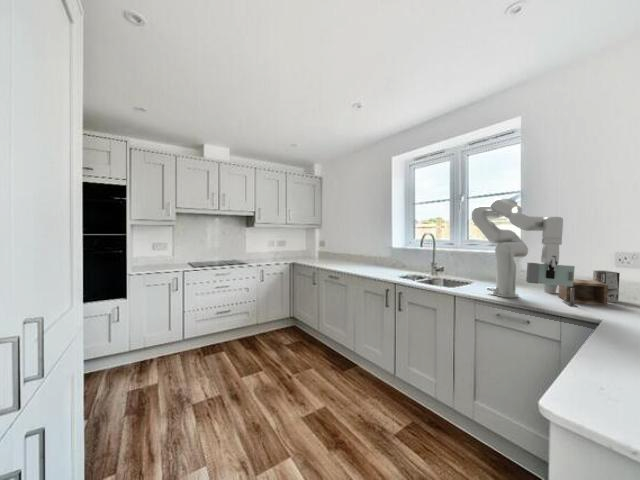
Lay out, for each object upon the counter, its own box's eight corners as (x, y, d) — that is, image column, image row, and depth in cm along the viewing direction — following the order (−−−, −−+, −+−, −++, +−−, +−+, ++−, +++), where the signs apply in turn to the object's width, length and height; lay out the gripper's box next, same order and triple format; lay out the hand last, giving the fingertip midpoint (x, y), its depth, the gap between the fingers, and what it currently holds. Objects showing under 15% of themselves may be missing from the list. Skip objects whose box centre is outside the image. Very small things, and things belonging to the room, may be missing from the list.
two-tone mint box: (528, 282, 137) (529, 263, 136) (526, 281, 141) (527, 262, 140) (573, 287, 129) (575, 266, 128) (570, 285, 133) (572, 265, 132)
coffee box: (619, 302, 144) (620, 272, 144) (604, 301, 146) (606, 272, 145) (604, 298, 153) (606, 270, 153) (591, 297, 154) (592, 270, 154)
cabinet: (569, 306, 136) (570, 284, 136) (555, 296, 156) (555, 278, 156) (617, 311, 128) (618, 288, 128) (596, 300, 148) (596, 280, 148)
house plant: (527, 290, 173) (528, 265, 173) (542, 288, 178) (543, 264, 177) (552, 295, 160) (553, 268, 159) (567, 293, 164) (568, 267, 163)
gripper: (537, 240, 142) (535, 274, 143) (546, 242, 128) (544, 280, 129) (556, 241, 139) (553, 276, 140) (567, 242, 125) (564, 281, 126)
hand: (549, 277), depth 135 cm, fingers closed on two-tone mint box, 2 cm apart
